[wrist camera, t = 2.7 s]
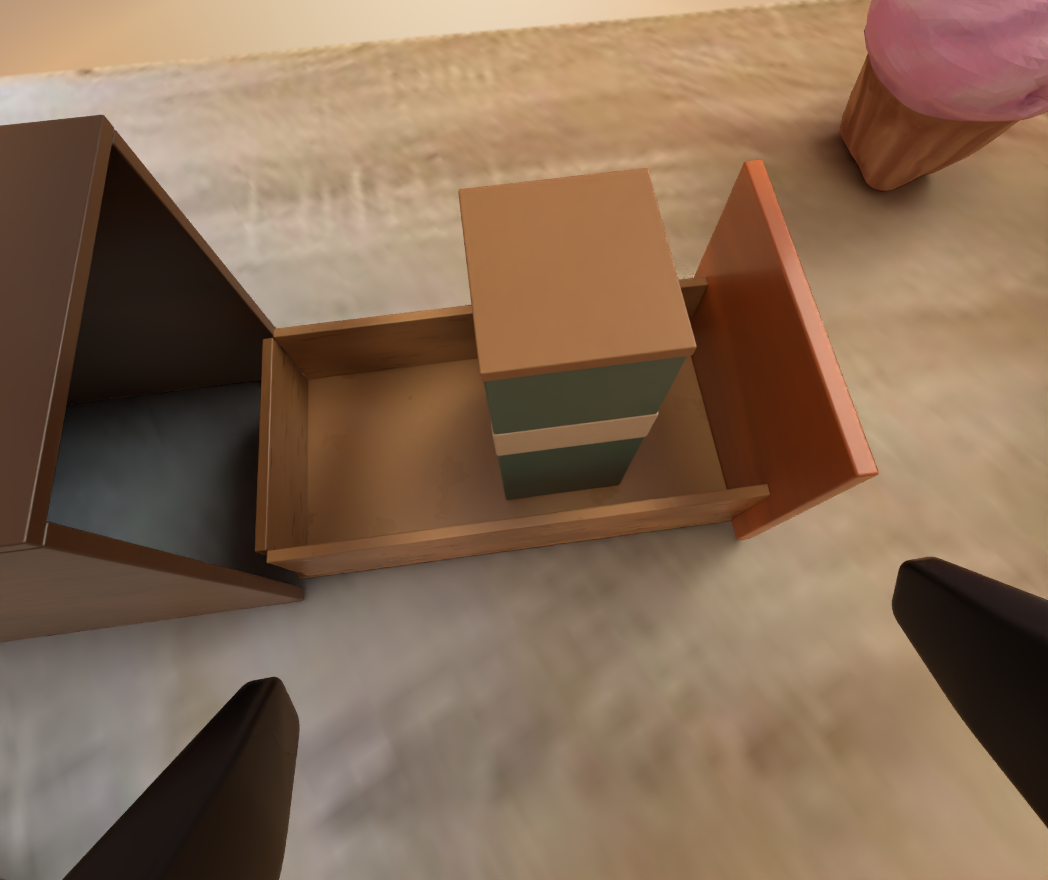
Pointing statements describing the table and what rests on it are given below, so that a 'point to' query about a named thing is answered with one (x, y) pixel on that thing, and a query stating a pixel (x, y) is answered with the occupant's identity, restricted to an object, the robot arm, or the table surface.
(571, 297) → the long rectangular block
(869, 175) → the cupcake
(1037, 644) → the robot arm
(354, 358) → the drawer
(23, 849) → the table surface
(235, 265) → the table surface
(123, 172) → the brown cupboard
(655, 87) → the table surface
